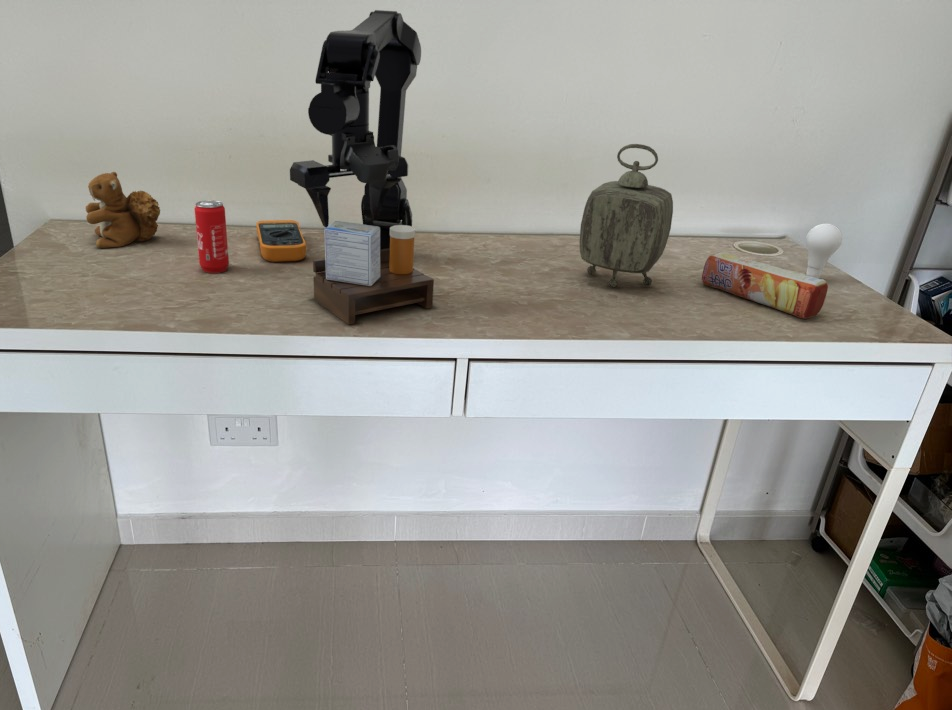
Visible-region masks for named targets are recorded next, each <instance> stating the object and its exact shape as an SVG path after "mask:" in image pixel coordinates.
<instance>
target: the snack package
mask: <svg viewBox="0 0 952 710" xmlns="http://www.w3.org/2000/svg"><path fill="white" fill-rule="evenodd" d="M701 282H702V283H703V285H705V286H708V287H711V288H715V289H719V290H721V291H724V292H727V293H730V294H732V295H734V296H737V297H741V298H743V299H746V300H749V301H752V302H754V303H758V304H761V305H763V306H767V307H769V308H772V309H775V310H778V311H781V312H783V313H786V314H789V315H792V316H795V317H797V318H800V319H803V320H807V319H810V318H813V317H814V316H816V315H818V314H819V313H820V311H822V309H823V306H824V303H825V301H826V297H827V294H828V290H829V284H828V282H827V281H826V280H825V279H822V278H814V277H811V276H807V275H806V274H804V273H800V272H796V271H792V270H788V269H784V268H780V267H778V266H774V265H771V264H767V263H763V262H761V261H760V262H759V261H756V260H752V259H749V258H745V257H741V256H737V255H734V254H730V253H727V252H725V251H718V252H715V253H713V254H711V255H709V256H708V257H707V259H706V261H705V263H704V266H703V270H702V274H701Z"/></svg>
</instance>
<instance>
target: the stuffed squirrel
mask: <svg viewBox="0 0 952 710" xmlns="http://www.w3.org/2000/svg"><path fill="white" fill-rule="evenodd" d="M87 187H88V191H89V195H90V196H91V197H92V199H93V202H89V203H88V204H86V205H85V211H86V213H87V214H86V221H87V223H88V224H90V225H97V224H99V225H98V226H96V227H95V228H94V233H95V235H96V236H99V238H98V239H97V240H96V243H95V246H96V247H97V248H99V249H109V248H119V247H124V246H127V245H129V244H132V243H133V242H134V241H136V242H146V241H149V240H150V239H152V238H153V236H155V235H156V233H157V232H158V227H159V225H158V223H157V221H158V219H159V217H160V215H161V207H160V206H159V201H157V200H156V198H154V197H152V195H151V194H150V193H148V192H146V191H145V190H138V191H136V190H134V191H132V192H130V193H129V194H128V196H126V194H125V193H124V192H123V187H122V184H121V182H120V179H119V178H118V173H117V172H116V171H112V172H105V173H101V174H98V175H96V176H95V177H94V178H93V179H91V180H90V181H89V182H88V186H87ZM96 200H97V201H99V202H94V201H96Z"/></svg>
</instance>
